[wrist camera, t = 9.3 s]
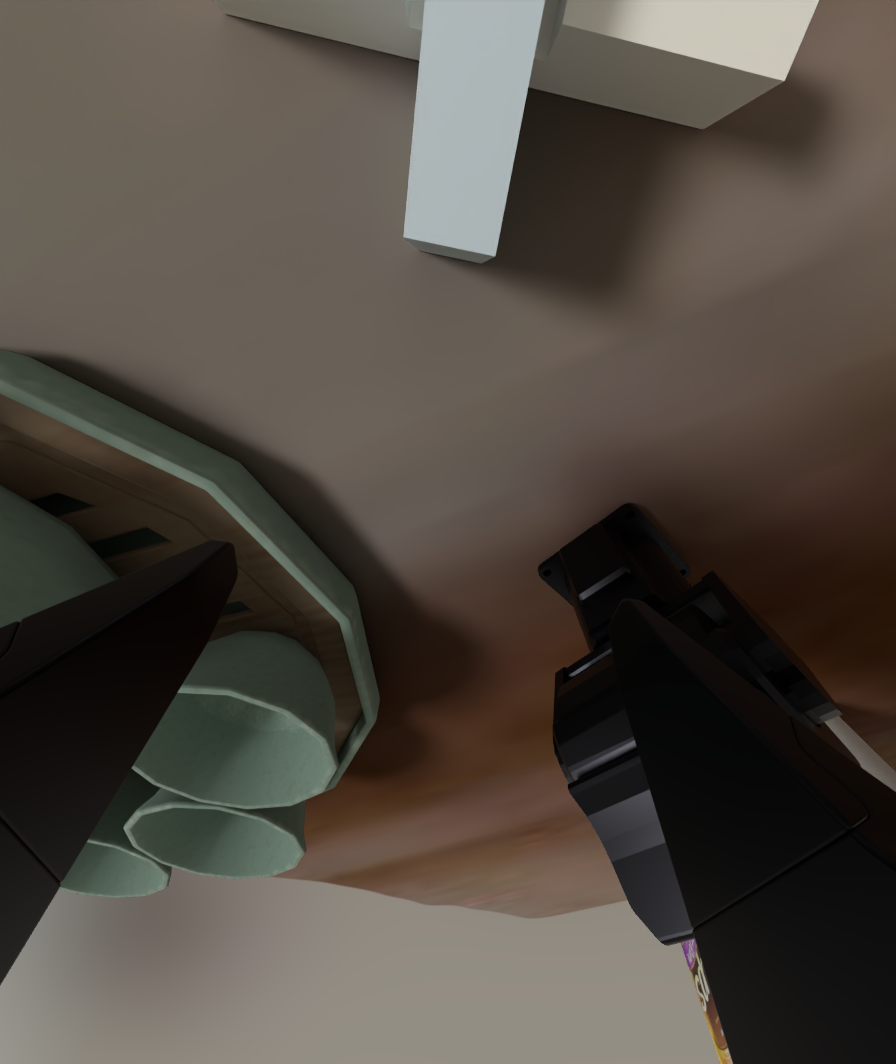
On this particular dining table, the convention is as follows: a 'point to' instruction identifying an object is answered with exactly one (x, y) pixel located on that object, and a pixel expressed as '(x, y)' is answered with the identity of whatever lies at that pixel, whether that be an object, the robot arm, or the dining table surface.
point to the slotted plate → (468, 122)
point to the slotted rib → (600, 46)
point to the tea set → (228, 658)
